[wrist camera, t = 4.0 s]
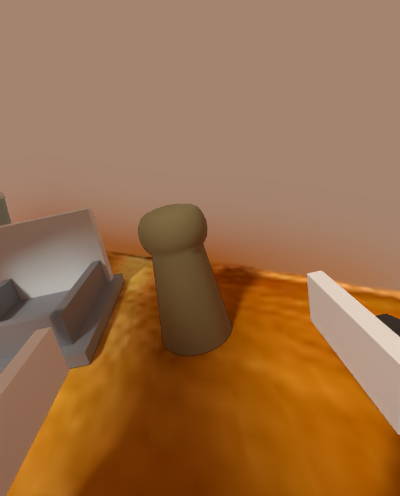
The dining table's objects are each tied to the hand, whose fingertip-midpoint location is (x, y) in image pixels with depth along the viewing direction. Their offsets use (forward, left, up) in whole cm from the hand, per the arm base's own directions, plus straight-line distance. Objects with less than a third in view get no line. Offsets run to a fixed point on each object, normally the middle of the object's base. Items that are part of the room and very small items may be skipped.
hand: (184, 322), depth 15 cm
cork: (-4, +8, -7) cm, 11 cm away
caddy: (-21, +6, -7) cm, 23 cm away
